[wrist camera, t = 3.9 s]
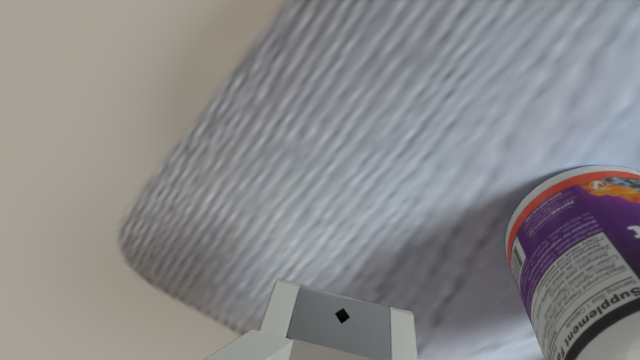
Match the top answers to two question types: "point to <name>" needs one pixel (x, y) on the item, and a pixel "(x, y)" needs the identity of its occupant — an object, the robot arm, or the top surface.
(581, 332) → the pill bottle
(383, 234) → the top surface
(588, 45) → the top surface
